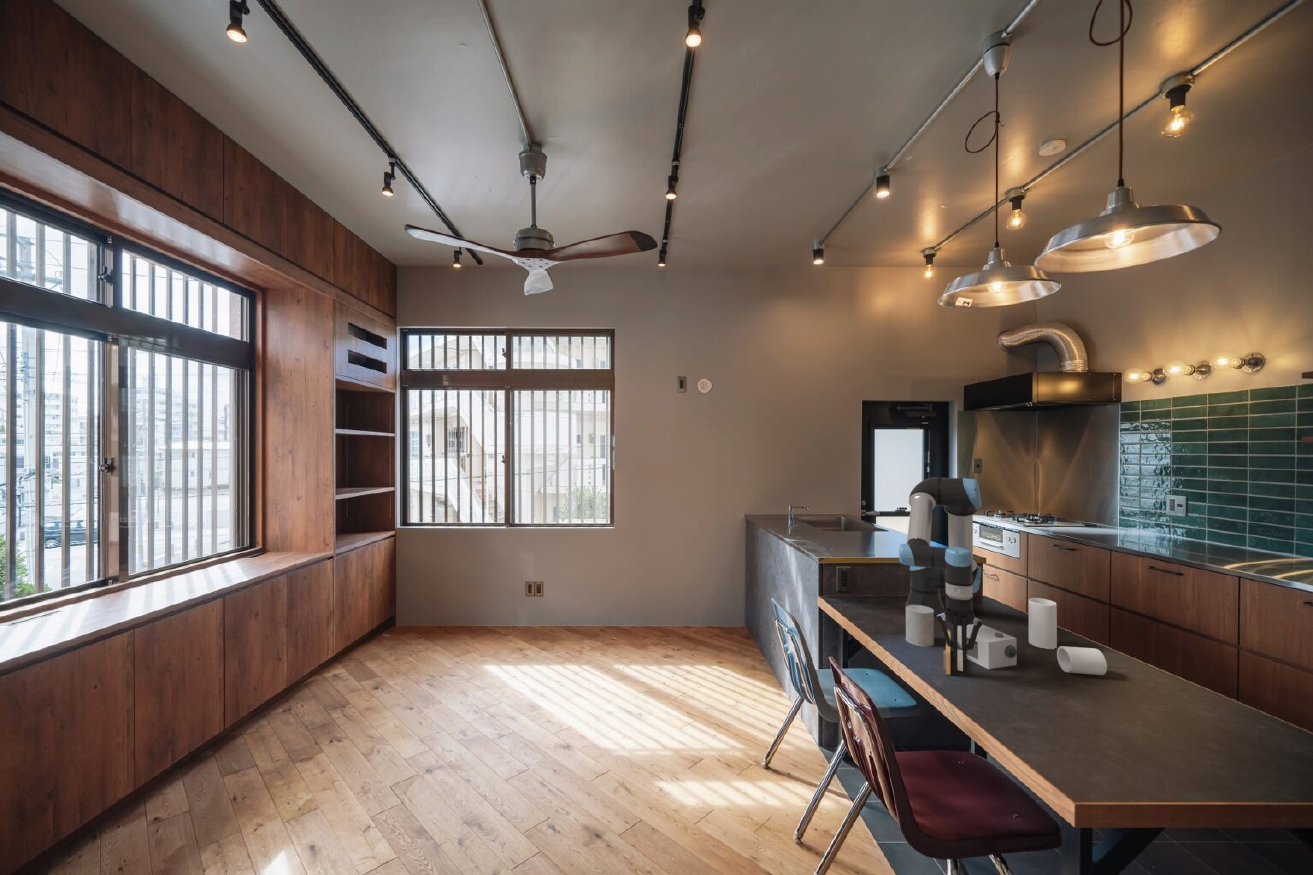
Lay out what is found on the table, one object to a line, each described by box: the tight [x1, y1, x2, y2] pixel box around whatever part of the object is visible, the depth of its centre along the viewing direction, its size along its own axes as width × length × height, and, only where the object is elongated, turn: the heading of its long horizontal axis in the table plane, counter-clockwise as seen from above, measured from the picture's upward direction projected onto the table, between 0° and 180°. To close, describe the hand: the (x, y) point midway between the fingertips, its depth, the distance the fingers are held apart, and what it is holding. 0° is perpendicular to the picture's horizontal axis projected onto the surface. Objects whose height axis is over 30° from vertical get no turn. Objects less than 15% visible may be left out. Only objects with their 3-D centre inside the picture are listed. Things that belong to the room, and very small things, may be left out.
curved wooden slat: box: [942, 628, 952, 675], centre depth 170 cm, size 22×2×7 cm, turn 149°
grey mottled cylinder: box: [905, 605, 935, 648], centre depth 187 cm, size 10×10×12 cm
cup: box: [1028, 597, 1058, 650], centre depth 183 cm, size 8×8×16 cm
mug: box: [1056, 645, 1108, 676], centre depth 164 cm, size 12×10×8 cm
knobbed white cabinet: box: [957, 623, 1017, 670], centre depth 172 cm, size 15×12×10 cm
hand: (959, 668), depth 161 cm, fingers closed
